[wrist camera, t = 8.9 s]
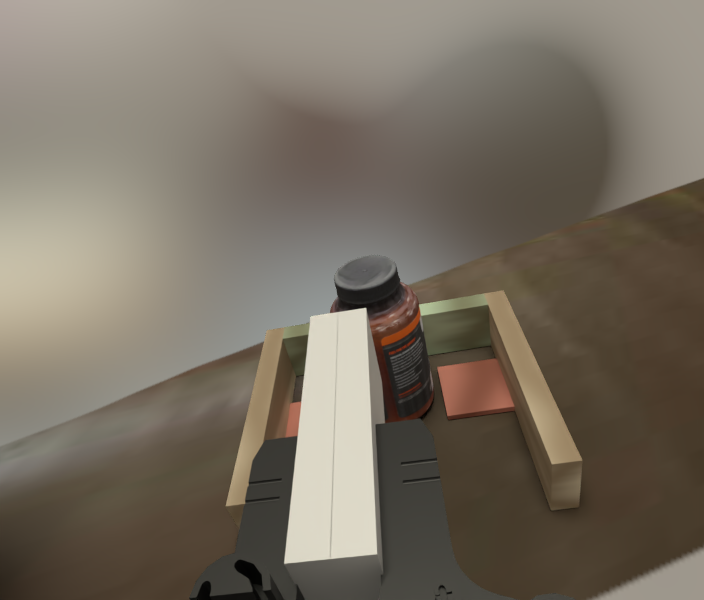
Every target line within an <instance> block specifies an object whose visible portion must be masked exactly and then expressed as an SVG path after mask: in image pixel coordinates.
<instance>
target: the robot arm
mask: <svg viewBox="0 0 704 600" xmlns="http://www.w3.org/2000/svg"><path fill="white" fill-rule="evenodd" d="M248 483H249V486H248V487H247V492H246V497H245V505H244V508H243V513H242V518H241V523H240V529H239V534H238V539H237V544H236V550H235V553H233V554H230V555H226V556H223V557H221V558H220V559H218V560H217V561H215V562H214V563H213V564H211V565H210V566H208V567H207V568H206V570H205V571H204V572H203V573H202V575H201V576H200V577H199V578H198V580H197V581H196V583H195V585H194V588H193V590H192V592H191V595H190V597H189V599H190V600H517V599H514V598H510V597H506V596H502V595H498V594H495V593H492V592H490V591H487V590H485V589H482V588H481V587H479V586H478V585H476V584H475V583H473V582H472V581H471V580H470V579H469V578H468V577H467V576H466V575H465V574H464V573H463V572H462V570H461V569H460V567H459V565H458V563H457V562H456V560H455V557H454V553H453V550H452V545H451V539H450V533H449V527H448V522H447V516H446V510H445V504H444V498H443V492H442V486H441V481H440V475H439V469H438V463H437V457H436V451H435V445H434V439H433V436H432V434H431V433H430V431H429V430H428V429H427V427H426V426H425V424H424V423H423V422H422V420H421V419H413V420H405V421H398V422H390V423H385V417H384V403H383V390H382V380H381V375H380V371H379V366H378V361H377V356H376V352H375V347H374V342H373V338H372V333H371V328H370V324H369V319H368V314H367V310H366V308H362V309H355V310H349V311H342V312H336V313H329V314H323V315H317V316H311V318H310V327H309V336H308V346H307V355H306V364H305V374H304V383H303V392H302V401H301V411H300V420H299V429H298V436H292V437H285V438H277V439H269V440H265V441H264V442H263V444H262V446H261V447H260V449H259V451H258V452H257V454H256V455H255V457H254V459H253V460H252V466H251V471H250V476H249V481H248ZM532 600H576V599H574V598H572V597H568V596H564V595H560V594H556V593H552V594H545V595H538V596H536V597H535V598H533V599H532Z"/></svg>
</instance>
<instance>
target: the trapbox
mask: <svg viewBox="0 0 704 600" xmlns="http://www.w3.org/2000/svg"><path fill="white" fill-rule="evenodd" d="M419 307H420V312H421V318H422V324H423V329H424V335H425V341H426V347H427V353H428V355H434V354H440V353H447V352H453V351H460V350H466V349H472V348H479V347H485V346H491V347H492V350H493V352H494V355H495V359H488V360H482V361H475V362H469V363H462V364H456V365H449V366H443V367H437V368H438V374H439V379H440V383H441V388H442V393H443V398H444V403H445V407H446V412H447V417H448V420H452V419H459V418H466V417H473V416H480V415H487V414H494V413H501V412H508V411H515V413H516V416H517V418H518V421H519V424H520V427H521V429H522V432H523V435H524V438H525V440H526V443H527V446H528V449H529V451H530V454H531V457H532V460H533V462H534V465H535V468H536V471H537V473H538V476H539V479H540V482H541V484H542V487H543V490H544V493H545V495H546V498H547V501H548V504H549V506H550V509H551V510H560V509H568V508H577V507H579V500H580V486H581V471H582V459H581V457H580V455H579V452H578V450H577V448H576V446H575V444H574V442H573V439H572V437H571V435H570V433H569V431H568V429H567V426H566V424H565V422H564V420H563V418H562V416H561V414H560V411H559V409H558V407H557V405H556V403H555V401H554V398H553V396H552V394H551V392H550V390H549V388H548V386H547V383H546V381H545V379H544V377H543V375H542V373H541V370H540V368H539V366H538V364H537V362H536V360H535V357H534V355H533V353H532V351H531V349H530V347H529V345H528V342H527V340H526V338H525V336H524V334H523V332H522V329H521V327H520V325H519V323H518V321H517V319H516V316H515V314H514V312H513V310H512V308H511V306H510V304H509V301H508V299H507V297H506V295H505V293H504V291H498V292H492V293H486V294H480V295H474V296H468V297H462V298H456V299H450V300H444V301H438V302H432V303H426V304H420V305H419ZM309 327H310V323H308V324H302V325H296V326H290V327H284V328H278V329H273V330H267V332H266V337H265V341H264V345H263V349H262V354H261V358H260V362H259V366H258V371H257V375H256V379H255V383H254V388H253V392H252V396H251V400H250V405H249V409H248V413H247V417H246V422H245V426H244V430H243V434H242V439H241V443H240V447H239V451H238V456H237V460H236V464H235V469H234V473H233V477H232V481H231V486H230V490H229V494H228V498H227V503H226V508H227V510H228V511H229V513H230V515H231V517H232V518H233V520H234V522H235V524H236V525H237V527H238V529H240V523H241V518H242V513H243V508H244V505H245V497H246V492H247V487H248V486H249V483H248V481H249V476H250V471H251V466H252V460H253V459H254V457H255V455H256V454H257V452H258V451H259V449H260V447H261V446H262V444H263V442H264V441H265V440H269V439H277V438H285V437H292V436H298V429H299V420H300V411H301V402H296V403H292V401H293V394H294V387H295V380H296V376H300V375H304V374H305V364H306V355H307V346H308V336H309Z"/></svg>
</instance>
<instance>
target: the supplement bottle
mask: <svg viewBox="0 0 704 600" xmlns="http://www.w3.org/2000/svg"><path fill="white" fill-rule="evenodd" d="M334 281H335V286H336V289H337V295H338V297H337V298H336V300H335V301H334V302H333V304H332V307H331V310H330V313H336V312H342V311H349V310H355V309H362V308H366V310H367V314H368V319H369V324H370V328H371V333H372V338H373V342H374V347H375V352H376V356H377V361H378V366H379V371H380V375H381V380H382V390H383V403H384V417H385V423H390V422H398V421H405V420H413V419H418V418H419V417H421V416H422V415H423V414H424V413H425V412H426V411H427V410H428V408H429V407H430V405H431V403H432V400H433V395H434V389H433V381H432V375H431V370H430V364H429V358H428V353H427V347H426V341H425V335H424V329H423V324H422V318H421V312H420V307H419V302H418V299H417V296H416V294H415V293H414V291H413V290H412V289H411V288H410V287H409V286H407V285H406V284H404V283H402V282H400V278H399V276H398V272H397V267H396V264H395V262H394V261H393V260H391V259H390V258H388V257H385V256H380V255H379V256H378V255H371V256H364V257H359V258H356V259H353V260H351V261H349V262H347V263H345V264H344V265H343V266H341V267H340V268H339V269H338V270H337V272H336V273H335V277H334Z"/></svg>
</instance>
